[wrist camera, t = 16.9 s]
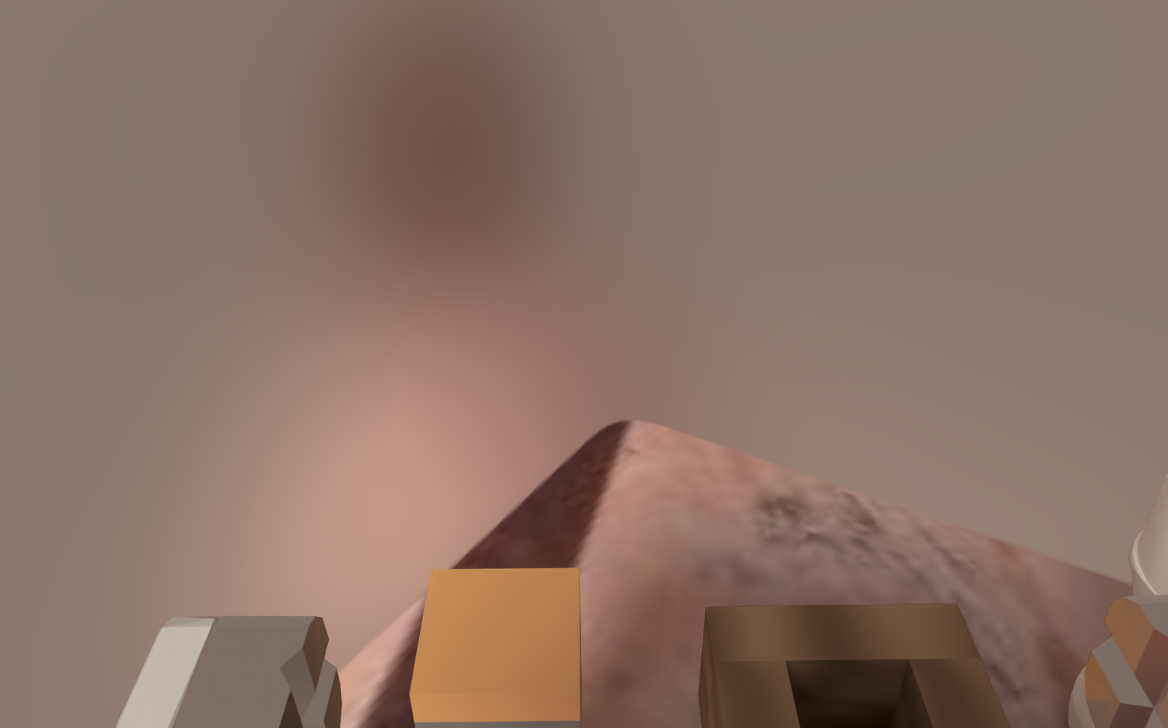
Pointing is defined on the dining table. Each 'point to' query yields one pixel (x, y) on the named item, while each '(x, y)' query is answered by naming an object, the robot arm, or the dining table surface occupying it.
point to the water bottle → (1135, 586)
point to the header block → (843, 668)
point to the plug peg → (499, 650)
